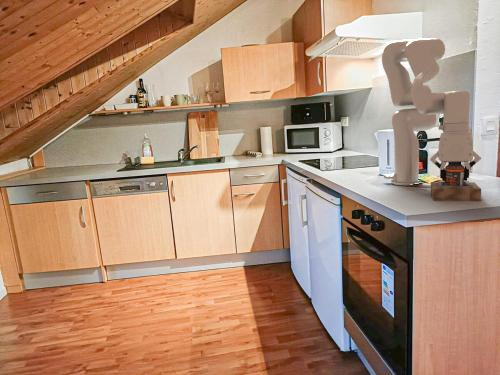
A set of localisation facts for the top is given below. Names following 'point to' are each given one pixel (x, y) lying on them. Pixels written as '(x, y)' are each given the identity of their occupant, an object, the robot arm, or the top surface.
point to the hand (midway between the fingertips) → (454, 179)
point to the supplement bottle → (454, 174)
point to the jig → (456, 191)
